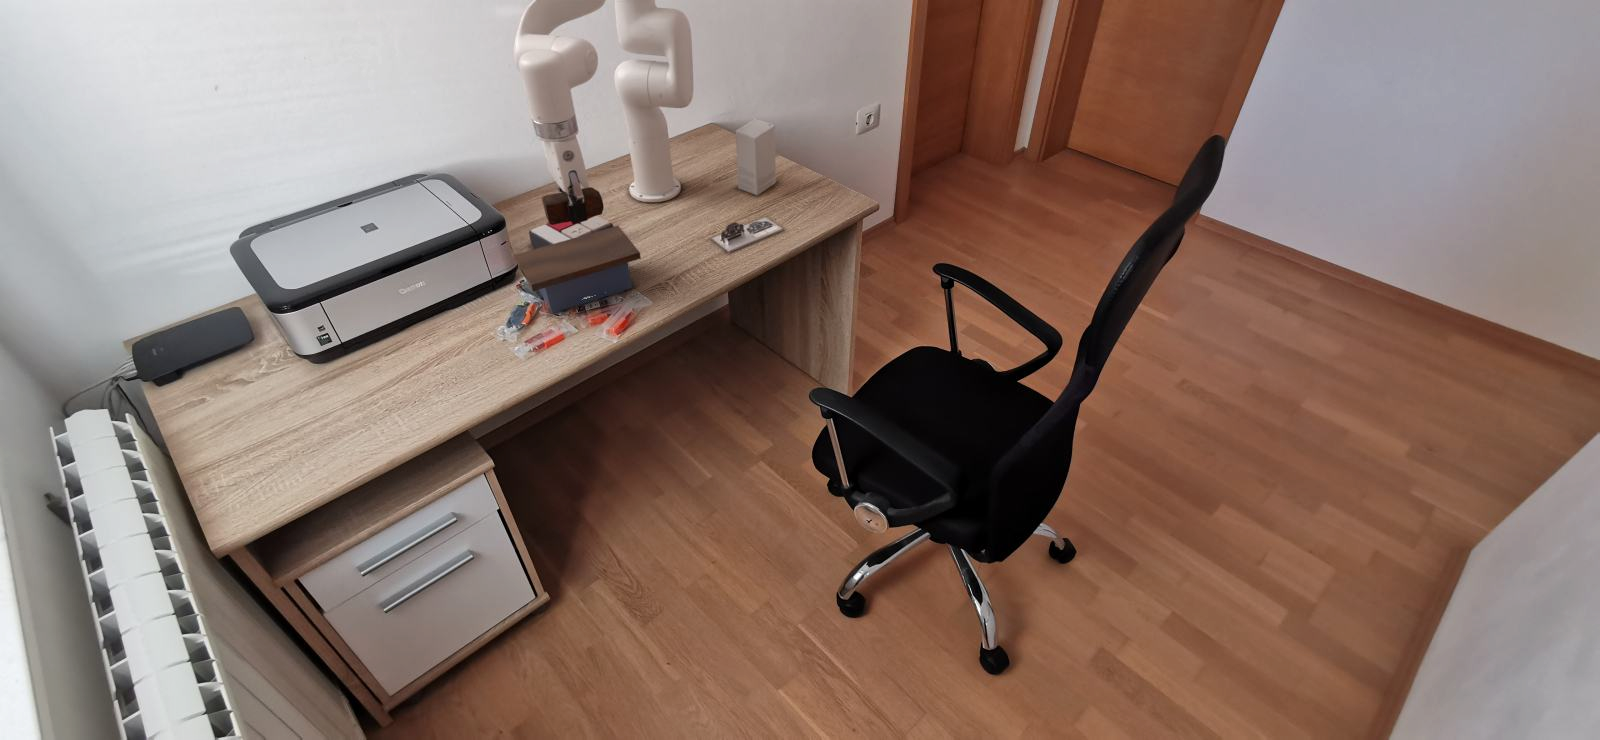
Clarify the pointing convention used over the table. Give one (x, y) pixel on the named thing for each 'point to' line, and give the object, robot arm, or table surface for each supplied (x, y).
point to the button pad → (566, 231)
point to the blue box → (587, 288)
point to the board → (576, 257)
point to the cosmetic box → (756, 156)
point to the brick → (558, 203)
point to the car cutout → (745, 233)
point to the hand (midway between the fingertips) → (575, 214)
